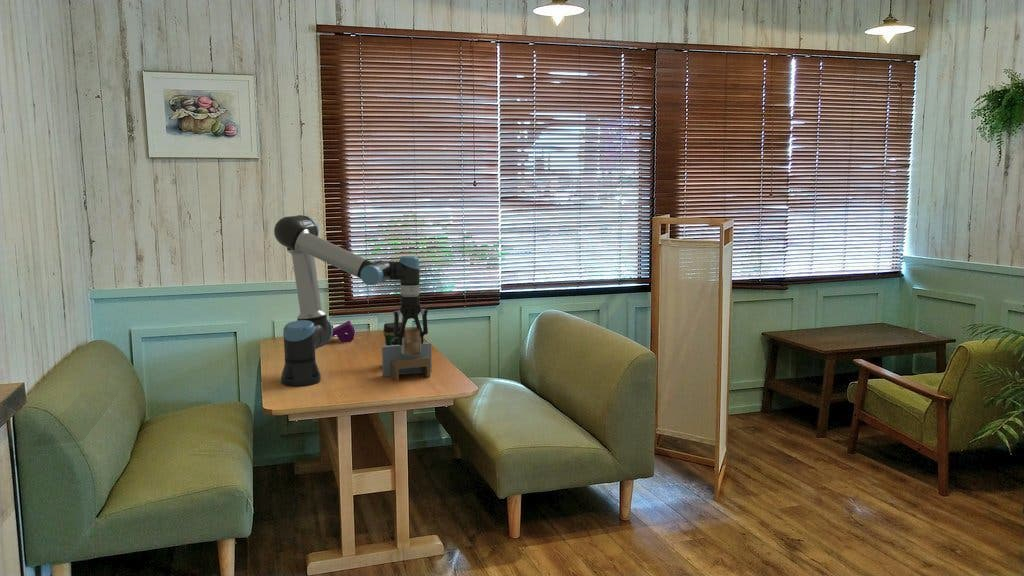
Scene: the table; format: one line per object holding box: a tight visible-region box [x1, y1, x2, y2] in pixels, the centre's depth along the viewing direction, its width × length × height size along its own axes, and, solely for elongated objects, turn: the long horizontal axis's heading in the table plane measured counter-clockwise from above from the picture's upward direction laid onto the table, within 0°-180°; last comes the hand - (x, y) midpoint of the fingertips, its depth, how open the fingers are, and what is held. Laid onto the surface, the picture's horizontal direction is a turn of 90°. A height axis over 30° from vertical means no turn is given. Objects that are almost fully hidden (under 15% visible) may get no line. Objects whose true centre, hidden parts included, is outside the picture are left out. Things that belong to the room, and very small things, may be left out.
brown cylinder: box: [402, 326, 420, 355], centre depth 311 cm, size 6×6×10 cm
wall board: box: [381, 341, 433, 381], centre depth 315 cm, size 20×10×12 cm, turn 112°
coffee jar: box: [383, 321, 402, 346], centre depth 333 cm, size 10×8×19 cm
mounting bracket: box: [331, 320, 355, 343], centre depth 385 cm, size 10×8×18 cm
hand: (411, 352), depth 312 cm, fingers closed on brown cylinder, 6 cm apart
